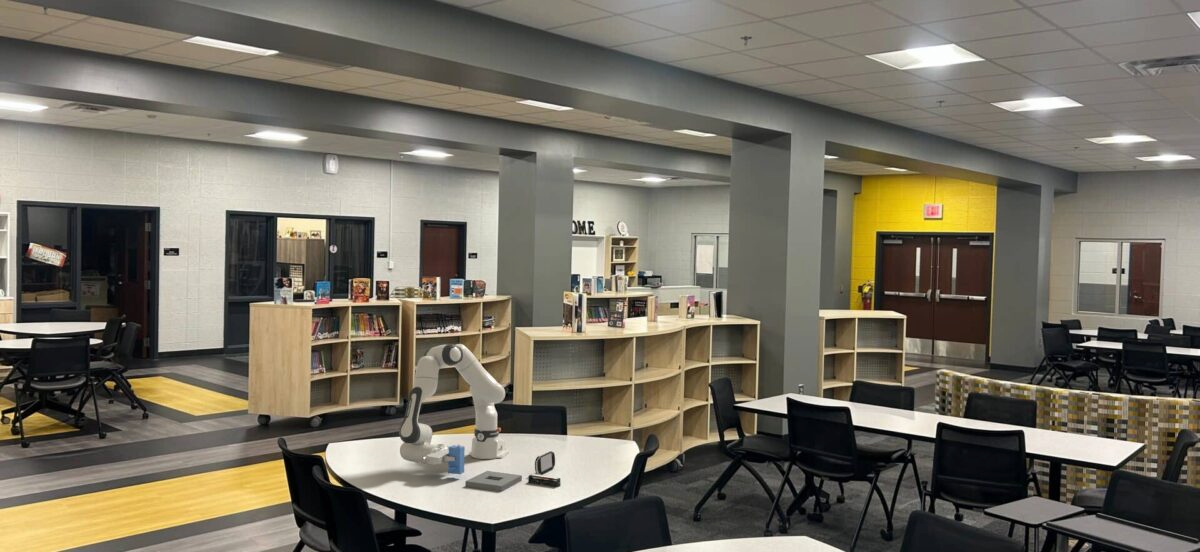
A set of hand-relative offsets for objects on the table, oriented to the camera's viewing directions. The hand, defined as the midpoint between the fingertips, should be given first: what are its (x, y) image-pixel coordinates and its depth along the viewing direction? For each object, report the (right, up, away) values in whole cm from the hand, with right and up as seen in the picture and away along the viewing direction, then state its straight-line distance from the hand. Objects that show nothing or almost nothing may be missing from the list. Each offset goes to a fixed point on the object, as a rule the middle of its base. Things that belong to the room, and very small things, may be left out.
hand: (458, 457), depth 381 cm
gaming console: (+39, -11, +16) cm, 43 cm away
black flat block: (+41, -12, -7) cm, 44 cm away
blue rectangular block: (-1, -7, +1) cm, 7 cm away
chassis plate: (+17, -10, -7) cm, 21 cm away
